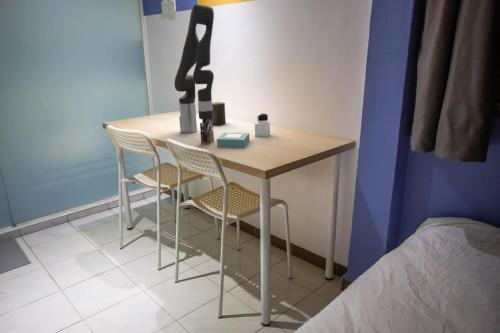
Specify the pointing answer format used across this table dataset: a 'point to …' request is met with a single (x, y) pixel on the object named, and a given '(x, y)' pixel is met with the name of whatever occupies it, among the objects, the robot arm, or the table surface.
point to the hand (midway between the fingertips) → (207, 139)
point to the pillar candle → (218, 113)
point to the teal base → (233, 140)
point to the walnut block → (208, 137)
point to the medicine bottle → (262, 125)
